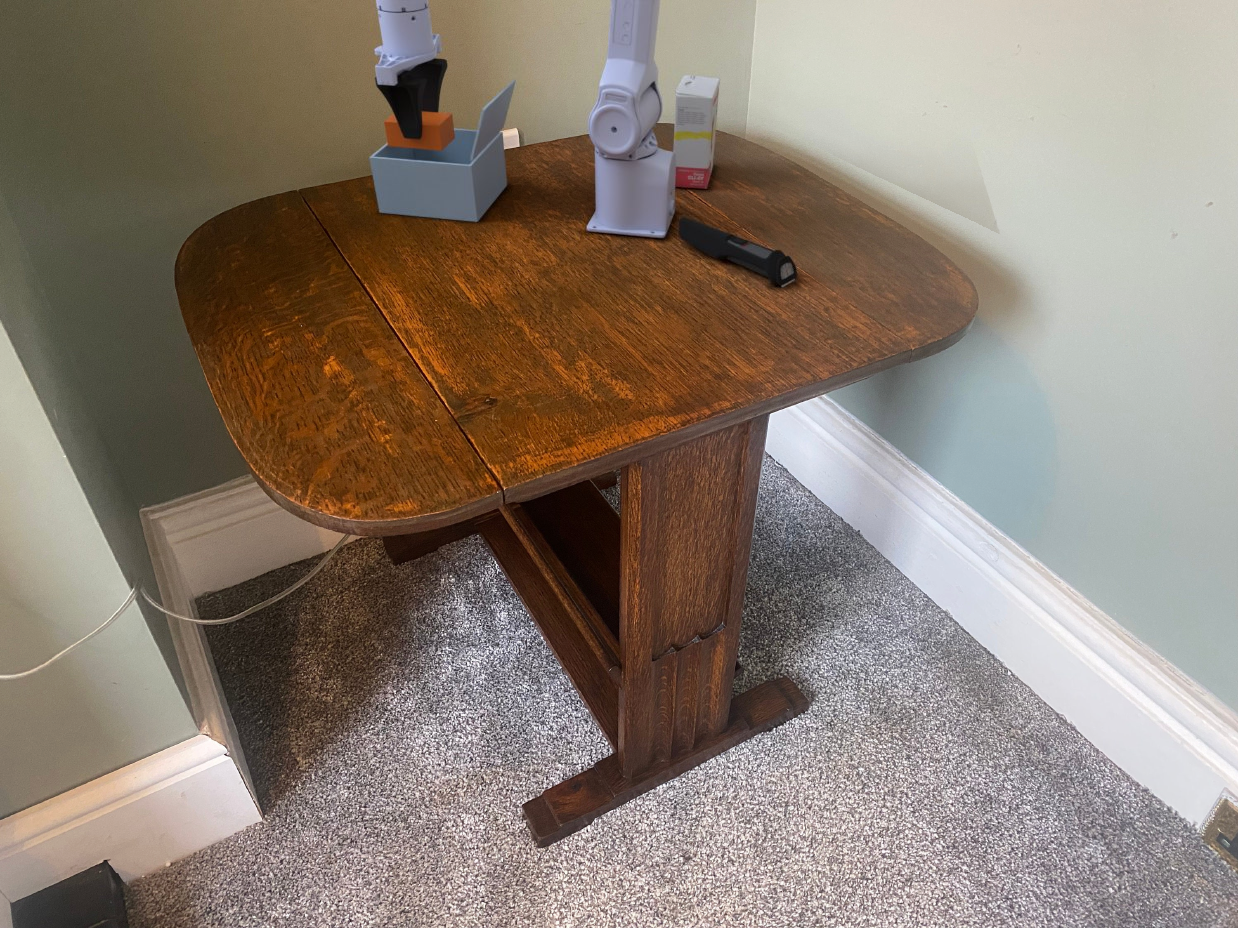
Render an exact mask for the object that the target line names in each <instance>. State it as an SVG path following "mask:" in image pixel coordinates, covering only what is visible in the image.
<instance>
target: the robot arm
mask: <svg viewBox="0 0 1238 928" xmlns="http://www.w3.org/2000/svg"><path fill="white" fill-rule="evenodd" d="M375 4H376V5H375V6H376V10H377V16H378V23H379V24H378V25H379V29H380V35H381V42H382V45H379V46H376V47H375V48H374V55H375V56H376V57H380V58H379V61H378V63H377V64H376V65H375V66H374V70H375V77H374V82H375V86H376V88H377V89H378V90H379V92H380V93H381V94H382V95H383V97H384V98H385V100H386V102H387V103H388V105H389V107H390V109H391V110H392V112H393V113H392V114H394V115H395V117H396V120H397V122H398V125H399V127H400V130H401V132H402V134H403V137H404V138H409V139H420V138H421V137H422V111H423V112H437V113H439V111H440V110H439V109H440V99H441V98H440V97H441V90H442V86H443V81H444V77H445V75H446V71H447V69H448V60H447V59H445V58H439V57H438V54H440V53H442V52H443V45H442V38H441V34H440V33H439V34H438V33H433V27H432V21H431V11H430V5H429V4H430V3H429V0H375ZM660 4H661V0H610V12H609V26H608V39H607V52H606V61H605V65H604V68H603V71H602V74H601V77H600V80H599V83H598V92H597V99H596V102H595V104H594V106H593V108H592V109H591V111H590V113H589V116H588V120H587V132H588V136H589V138H590V141H591V142H592V144H593V145H594V185H595V188H594V189H595V190H594V191H595V193H594V194H595V211H594V213H593V215H592V216H591V218H590V220H589V221H588V224H587V225H586V231H587V232H591V233H593V232H594V233H603V234H614V235H623V236H624V235H625V236H634V237H645V238H646V237H647V238H656V239H664V238H665V237H666V235H667V233H668V231H669V229H670V225H671V223H672V220H673V218H674V215H675V212H676V209H675V208H676V202H675V197H676V187H675V178H676V155H675V153H674V152H673V151H671V150H666V149H662V148H660V147H658V141H657V138H656V135H655V133H654V129H653V128H654V127H655V126H656V125H657V124H658V123H659V121H660V119H661V117H662V114H663V98H662V96H661V93H660V90H659V84H658V78H659V68H658V65H657V62H656V61H655V52H656V45H657V35H658V34H657V33H658V24H659V23H658V22H659V16H660V15H659V14H660Z"/></svg>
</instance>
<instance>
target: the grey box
mask: <svg viewBox="0 0 1238 928" xmlns="http://www.w3.org/2000/svg"><path fill="white" fill-rule="evenodd" d="M476 133H477V129H468V128H467V129H466V128H454V134H455V139H454V140H453V141H452V142H451V143H450V144H448V145H447V146H446V147H445V148H444V149H443V150H442V151H439V150H427V149H415V148H402V147H390V146H388V143H387V142H386V143H385V144H384V145H383V146H381V147H380V148H379V149H377V151H375V152H374V153H373V154H371V155H370V156H369V158H368V159H369V164H370V170H371V174H372V179H373V183H374V191H375V195H376V201H377V206H378V211H379V213H380V214H389V215H401V216H411V217H421V218H432V219H444V220H453V221H464V222H473V223H478V222H479V221H480V220H481V218H482V217H483V216H484V215H485V213H486V212H487V211H488V210H489V208H490V207H491V206H492V204H494V202H495V201H496V200H497V198H498V197H499V196H500V195H501V193H502V192H503V191H504V189H505V188H507V186H508V180H507V167H506V166H507V165H506V155H505V145H504V144H505V143H504V132H503V131H500V132H499V133H498V134H497V135H496V136H495V137H494V138H493V139H492V140H491V141H490V143H489V144H488V145H487V146H486V147H485V148H484V149H483V150H482V151H481V152H480V153H479V154H478V155H477V156H476V157H475V158H474V160H473V161H471V160H470V158H471V154H472V149H473V145H474V141H475V137H476Z"/></svg>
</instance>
